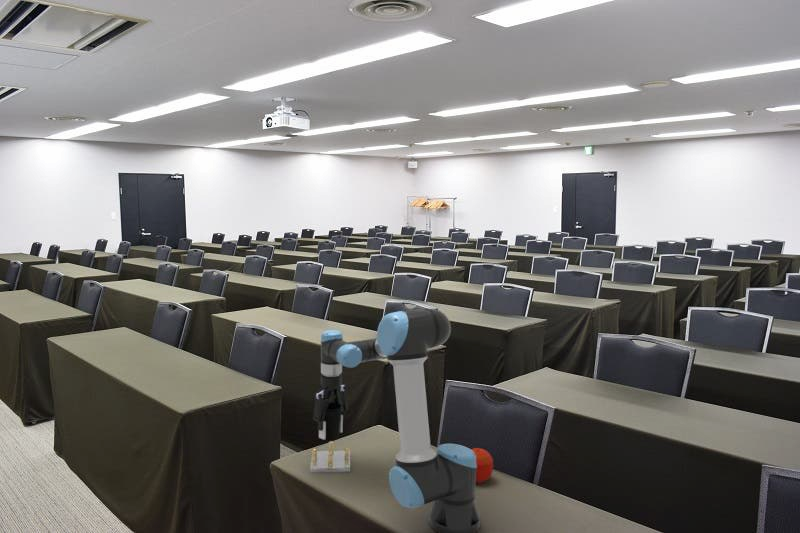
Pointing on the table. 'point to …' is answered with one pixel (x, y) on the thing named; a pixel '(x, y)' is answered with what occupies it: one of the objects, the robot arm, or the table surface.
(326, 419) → the cup
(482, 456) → the apple
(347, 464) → the white board with pegs
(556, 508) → the table surface
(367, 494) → the table surface
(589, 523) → the table surface
